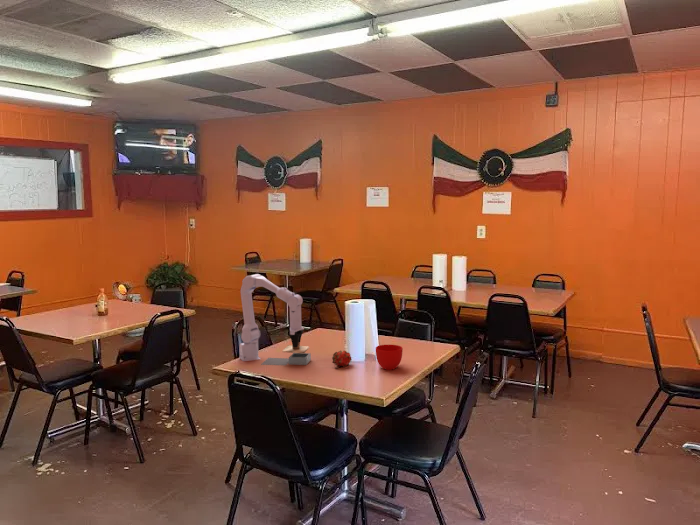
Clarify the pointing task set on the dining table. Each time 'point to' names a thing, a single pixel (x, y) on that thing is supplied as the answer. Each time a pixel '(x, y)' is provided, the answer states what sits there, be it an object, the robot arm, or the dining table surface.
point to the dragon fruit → (341, 358)
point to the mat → (276, 361)
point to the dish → (300, 358)
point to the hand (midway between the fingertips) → (296, 346)
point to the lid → (296, 349)
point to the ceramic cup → (389, 356)
